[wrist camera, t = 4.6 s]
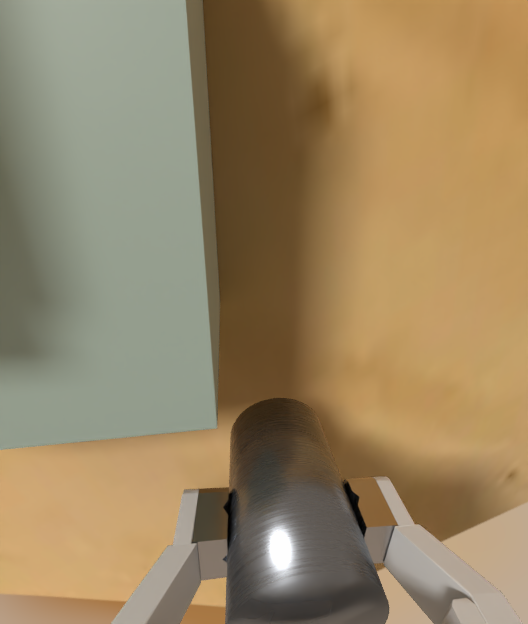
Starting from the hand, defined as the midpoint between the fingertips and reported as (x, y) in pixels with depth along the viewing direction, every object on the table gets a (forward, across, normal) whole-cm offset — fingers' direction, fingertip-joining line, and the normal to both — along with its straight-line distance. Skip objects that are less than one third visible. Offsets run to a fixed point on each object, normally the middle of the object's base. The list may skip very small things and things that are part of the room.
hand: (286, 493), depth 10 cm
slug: (+3, 0, 0) cm, 3 cm away
